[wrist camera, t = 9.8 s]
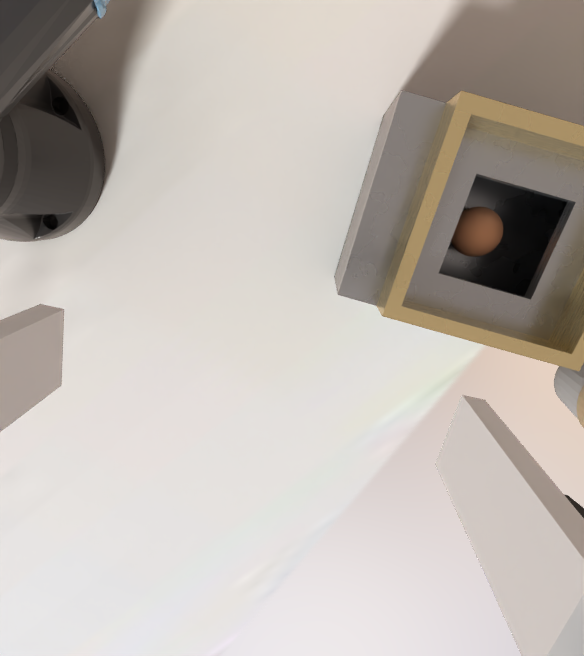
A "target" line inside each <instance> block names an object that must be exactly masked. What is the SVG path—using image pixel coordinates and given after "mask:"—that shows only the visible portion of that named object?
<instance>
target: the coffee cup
mask: <svg viewBox="0 0 584 656" xmlns="http://www.w3.org/2000/svg"><path fill="white" fill-rule="evenodd" d="M554 388H555V392H556V394H557V396H558V397H559V398H560V400H561V401H562V402H563V403H564V404H565V405H566V406H567V407H568V409H569V410H570V411H571V412H572V413H573V414H574V415H575V416H576V417H577V419H578V420H579V422H580V424H581V425H582V426H583V427H584V364H583V365H582V367H581V369H580V371H576V370H572V369H569V368H565V367H562V366H559V368H558V369H557V372H556V374H555V379H554Z"/></svg>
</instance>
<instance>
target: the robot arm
mask: <svg viewBox="0 0 584 656" xmlns="http://www.w3.org/2000/svg"><path fill="white" fill-rule="evenodd" d="M109 1H110V0H0V239H5V240H10V241H20V242H30V241H39V240H47V239H52V238H56V237H59V236H62V235H64V234H67V233H69V232H70V231H72V230H74V229H75V228H77V227H78V226H79V225H80V224H81V223H82V222H83V221H84V220H85V219H86V218H87V217H88V216H89V214H90V213H91V212H92V210H93V208H94V207H95V205H96V203H97V201H98V198H99V196H100V193H101V189H102V185H103V179H104V165H105V164H104V152H103V146H102V141H101V137H100V134H99V131H98V128H97V126H96V123H95V121H94V119H93V117H92V115H91V113H90V111H89V109H88V108H87V106H86V105H85V103H84V102H83V100H82V99H81V98H80V96H79V95H78V94H77V93H76V91H75V90H74V89H73V88H72V87H71V86H70V85H69V84H68V83H67V82H66V81H64V80H63V79H62V78H61V77H59V76H58V75H57V74H55V73H54V72H52V71H51V70H49V69H50V67H51V66H52V65H53V64H54V63H55V62H56V61H57V60H58V59H59V58H60V57H61V56H62V55H63V53H64V52H65V51H66V50H67V49H68V48H69V47H70V46H71V45H72V44H73V43H74V42H75V41H76V40H77V38H78V37H79V36H80V35H81V34H82V33H83V32H84V31H85V30H86V29H87V28H88V27H89V26H90V25H91V23H92V22H93V21H94V20H95V19H96V18H97V17H99V18H100V19H101V18H102V17H103V16H104V15H105V13H106V5H107V4H108V2H109ZM63 326H64V309H61V308H56V307H51V306H47V305H42V304H39V305H37V306H35V307H32V308H30V309H27V310H25V311H22V312H20V313H17V314H15V315H12V316H10V317H7V318H5V319H2V320H0V432H1V431H2V430H3V429H5V428H6V427H7V426H9V425H10V424H11V423H13V422H14V421H15V420H17V419H18V418H19V417H21V416H22V415H23V414H25V413H26V412H27V411H28V410H30V409H31V408H32V407H34V406H35V405H36V404H38V403H39V402H40V401H42V400H43V399H44V398H46V397H47V396H48V395H49V394H51V393H52V392H53V391H55V390H56V389H57V388H59V387H60V386H61V384H62V355H63ZM435 465H436V467H437V470H438V472H439V474H440V476H441V478H442V481H443V483H444V485H445V487H446V489H447V492H448V493H449V496H450V498H451V500H452V503H453V505H454V507H455V509H456V512H457V514H458V516H459V518H460V520H461V523H462V525H463V527H464V529H465V532H466V534H467V536H468V538H469V540H470V542H471V545H472V547H473V549H474V551H475V553H476V556H477V558H478V560H479V562H480V565H481V567H482V569H483V571H484V574H485V576H486V578H487V580H488V582H489V584H490V587H491V589H492V591H493V593H494V596H495V598H496V600H497V602H498V605H499V607H500V609H501V611H502V613H503V616H504V618H505V620H506V622H507V624H508V627H509V629H510V631H511V633H512V636H513V638H514V640H515V642H516V644H517V647H518V649H519V651H520V653H521V655H522V656H584V508H583V507H581V506H580V505H579V504H578V503H577V502H575V501H574V500H573V499H571V498H570V497H569V496H568V495H564V494H563V493H562V492H561V491H560V489H559V488H558V487H557V486H556V485H555V483H553V481H552V480H551V479H550V477H549V476H548V475H547V474H546V473H545V471H544V470H543V469H542V468H541V467H540V466H539V464H538V463H537V462H536V461H535V460H534V458H533V457H532V456H531V455H530V453H529V452H528V451H527V450H526V449H525V448H524V446H523V445H522V444H521V443H520V441H519V440H518V439H517V438H516V437H515V435H514V434H513V433H512V432H511V431H510V430H509V428H508V427H507V426H506V425H505V424H504V422H503V421H502V420H501V419H500V417H499V416H498V415H497V414H496V413H495V412H494V410H493V409H492V408H491V407H490V406H489V404H488V403H487V402H486V401H485V400H483V399H478V398H473V397H469V396H465V395H462V396H461V399H460V401H459V404H458V407H457V409H456V412H455V414H454V417H453V420H452V422H451V425H450V427H449V430H448V433H447V435H446V438H445V440H444V443H443V446H442V448H441V451H440V453H439V456H438V458H437V461H436V464H435Z"/></svg>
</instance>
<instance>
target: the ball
mask: <svg viewBox="0 0 584 656" xmlns="http://www.w3.org/2000/svg"><path fill="white" fill-rule="evenodd" d="M502 236H503V223H502V220H501V218H500V217H499V215H498V214H497V213H496V212H494V211H493V210H491V209H489V208H486V207H472V208H469V209H466V210H464V211H463V212H462V213H461V216H460V218H459V221H458V224H457V226H456V229H455V232H454V234H453V237H452V239H451V242H452V245H453V246H454V248H455V249H456V250H457V251H458V252H460V253H461V254H463V255H466V256H471V257H478V256H482V255H485V254H487V253H489V252H491V251H492V250H494V249H495V248H496V247H497V245H498V244H499V243H500V241H501V239H502Z"/></svg>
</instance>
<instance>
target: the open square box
mask: <svg viewBox="0 0 584 656" xmlns="http://www.w3.org/2000/svg"><path fill="white" fill-rule="evenodd" d="M472 207H486V208H489V209H491V210H493V211H494V212H496V213H497V214H498V215H499V217H500V218H501V220H502V223H503V236H502V239H501V241H500V243H499V244H498V245H497V247H496V248H495V249H494V250H492V251H491V252H489V253H487V254H485V255H482V256H478V257H471V256H466V255H463V254H461V253H460V252H458V251H457V250H456V249H455V248H454V246H453V245H452V242H451V239H452V237H453V234H454V232H455V229H456V226H457V224H458V221H459V218H460V216H461V213H462V212H463V211H464V210H466V209H469V208H472ZM334 277H335V283H336V288H337V293H338V295H341V296H344V297H348V298H351V299H355V300H358V301H362V302H365V303H369V304H373V305H376V306H377V308H378V309H379V311H380V313H381V315H382V316H384V317H387V318H391V319H394V320H398V321H402V322H405V323H409V324H412V325H416V326H419V327H423V328H426V329H430V330H434V331H437V332H441V333H444V334H448V335H451V336H455V337H459V338H462V339H466V340H469V341H473V342H476V343H480V344H483V345H487V346H491V347H494V348H498V349H501V350H505V351H508V352H512V353H515V354H519V355H523V356H526V357H530V358H533V359H537V360H540V361H544V362H548V363H552V364H555V365H558V366H562V367H565V368H569V369H572V370H576V371H580V369H581V367H582V365H583V364H584V126H582V125H578V124H575V123H571V122H568V121H565V120H561V119H558V118H554V117H551V116H547V115H544V114H540V113H537V112H534V111H530V110H527V109H523V108H520V107H516V106H513V105H509V104H506V103H502V102H499V101H496V100H492V99H489V98H485V97H482V96H478V95H475V94H471V93H468V92H465V91H460V92H459V93H458V94H457V95H455V96H454V97H453V98H452V99H450V100H449V101H448V102H447V103H445V102H441V101H438V100H434V99H431V98H428V97H424V96H421V95H417V94H414V93H410V92H407V91H403V90H401V92H400V93H399V94H398V96H397V97H396V99H395V100H394V102H393V103H392V104H391V106H390V107H389V109H388V110H387V111H386V113H385V114H384V116H383V119H382V122H381V125H380V129H379V132H378V135H377V138H376V142H375V145H374V148H373V152H372V155H371V158H370V161H369V165H368V168H367V171H366V174H365V178H364V181H363V184H362V188H361V191H360V194H359V197H358V201H357V204H356V207H355V210H354V214H353V217H352V220H351V224H350V227H349V230H348V233H347V237H346V240H345V243H344V247H343V250H342V253H341V256H340V260H339V263H338V266H337V269H336V273H335V276H334Z"/></svg>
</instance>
